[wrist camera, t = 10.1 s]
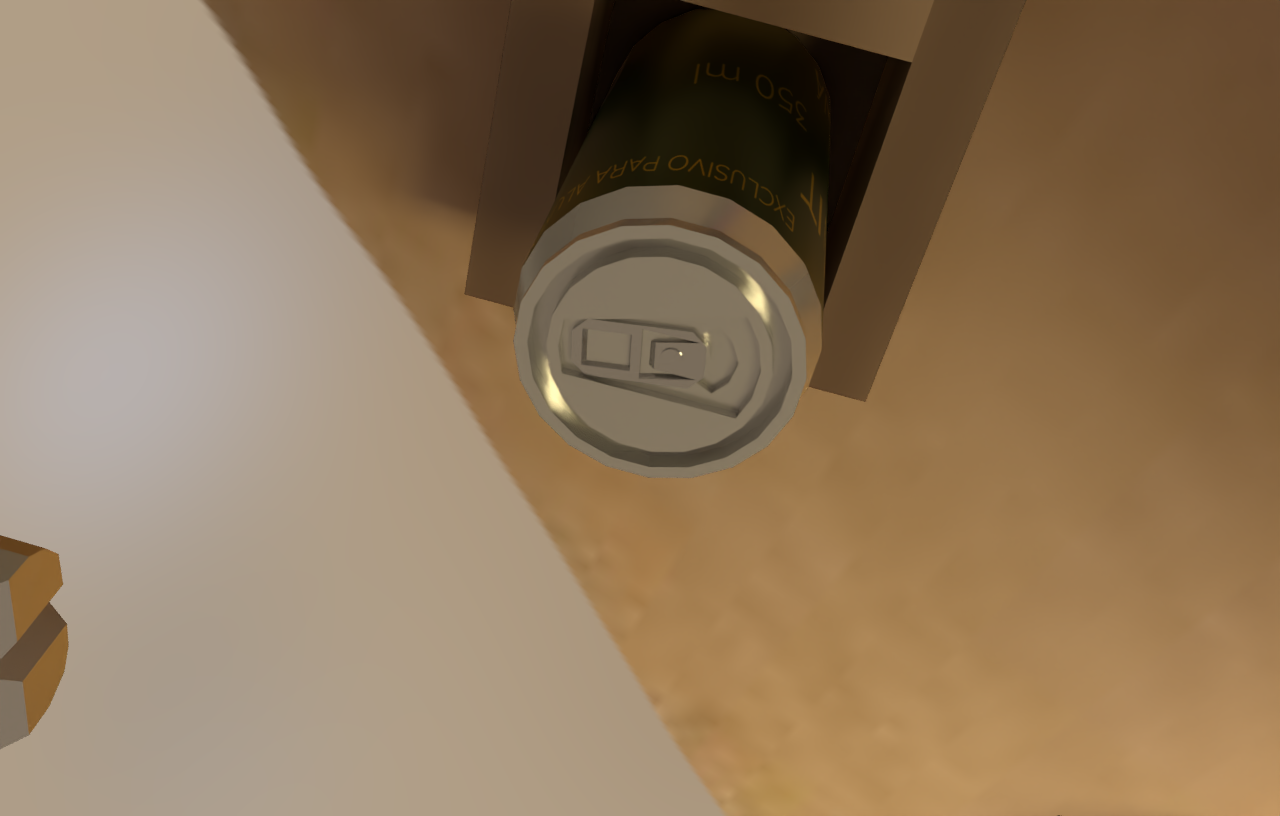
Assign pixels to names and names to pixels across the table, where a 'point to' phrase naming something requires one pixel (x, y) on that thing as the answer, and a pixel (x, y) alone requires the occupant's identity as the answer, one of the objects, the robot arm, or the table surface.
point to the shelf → (875, 185)
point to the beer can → (685, 254)
